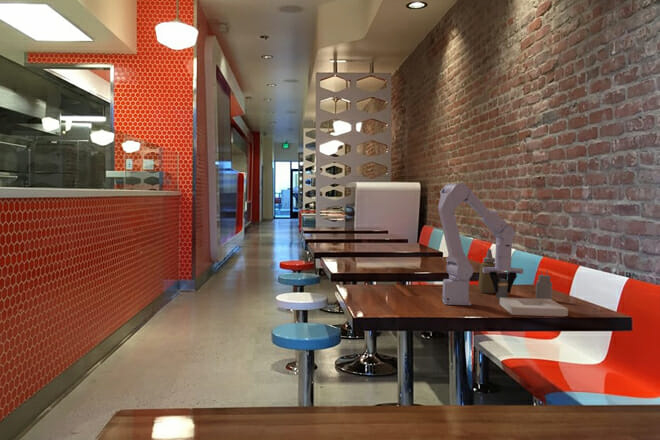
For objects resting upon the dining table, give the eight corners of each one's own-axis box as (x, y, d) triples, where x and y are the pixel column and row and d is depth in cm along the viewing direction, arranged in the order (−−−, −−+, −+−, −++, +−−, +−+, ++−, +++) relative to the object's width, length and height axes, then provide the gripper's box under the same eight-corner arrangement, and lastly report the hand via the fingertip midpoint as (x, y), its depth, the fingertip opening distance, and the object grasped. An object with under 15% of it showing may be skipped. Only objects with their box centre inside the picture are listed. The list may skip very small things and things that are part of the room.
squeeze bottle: (500, 292, 223) (502, 249, 222) (495, 295, 216) (496, 250, 215) (481, 290, 227) (482, 248, 226) (475, 292, 220) (476, 249, 219)
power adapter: (536, 299, 209) (537, 268, 208) (551, 300, 206) (552, 269, 205) (535, 300, 206) (536, 269, 206) (550, 301, 203) (551, 270, 203)
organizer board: (511, 314, 179) (512, 307, 179) (499, 304, 197) (499, 297, 196) (567, 316, 177) (567, 309, 177) (550, 305, 195) (550, 299, 195)
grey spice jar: (497, 299, 199) (498, 280, 199) (495, 297, 204) (495, 278, 203) (509, 299, 199) (509, 280, 199) (506, 297, 203) (506, 279, 203)
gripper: (520, 255, 204) (519, 291, 205) (481, 254, 205) (480, 289, 206) (525, 257, 197) (524, 294, 198) (485, 256, 198) (484, 293, 199)
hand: (502, 292), depth 201 cm, fingers closed on grey spice jar, 4 cm apart
